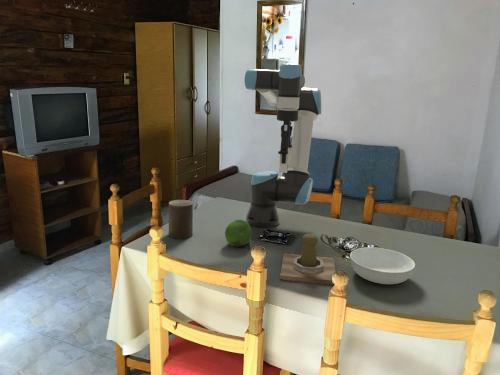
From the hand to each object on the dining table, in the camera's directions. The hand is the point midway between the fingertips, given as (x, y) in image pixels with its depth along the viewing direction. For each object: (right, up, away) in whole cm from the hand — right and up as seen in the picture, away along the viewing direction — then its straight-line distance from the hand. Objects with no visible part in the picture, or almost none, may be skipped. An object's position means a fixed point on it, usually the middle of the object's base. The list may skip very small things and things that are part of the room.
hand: (284, 168), depth 153 cm
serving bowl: (+31, -37, -12) cm, 50 cm away
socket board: (+7, -35, -9) cm, 37 cm away
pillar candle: (-41, -27, +19) cm, 52 cm away
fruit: (-17, -29, +12) cm, 36 cm away
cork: (+8, -34, -8) cm, 36 cm away
